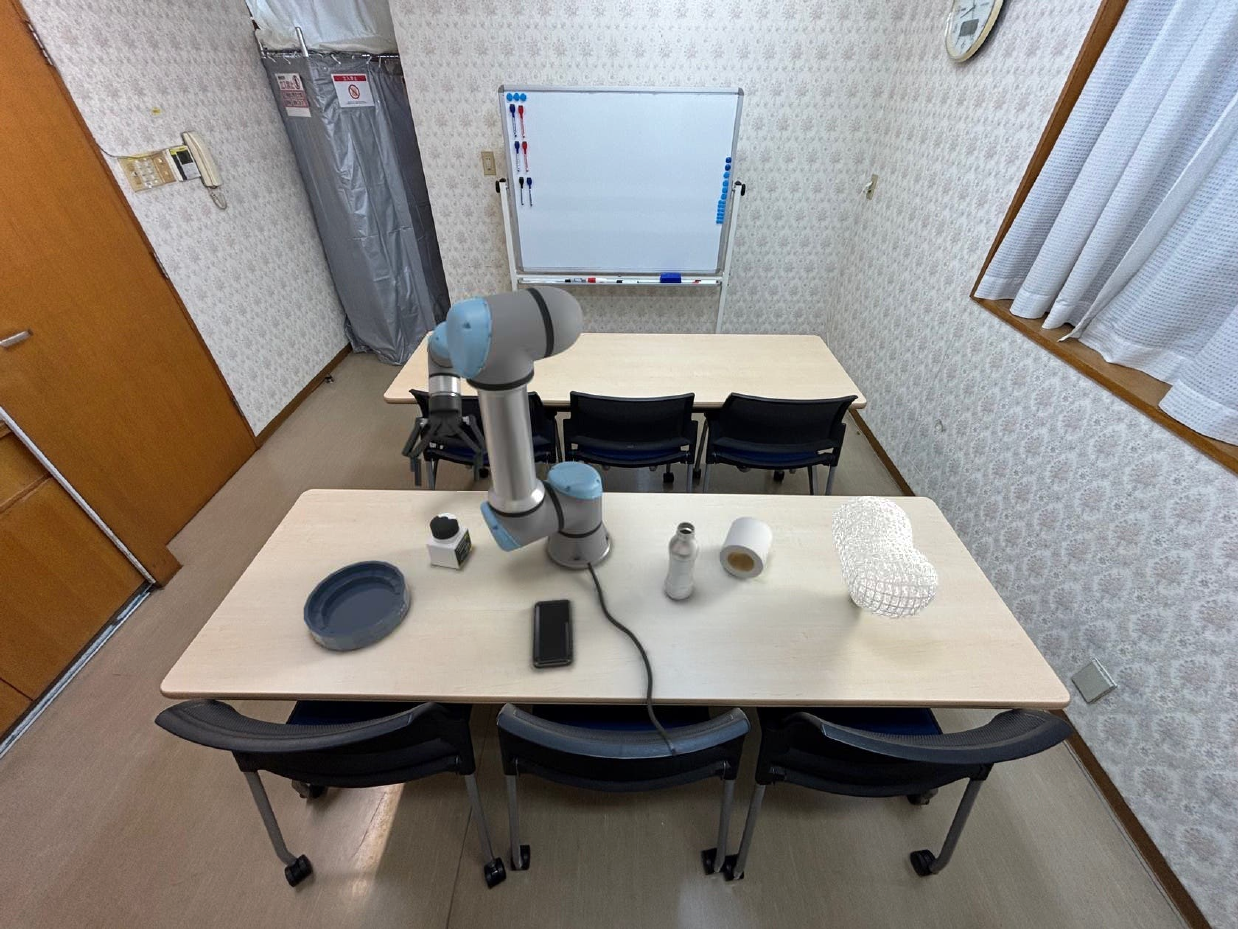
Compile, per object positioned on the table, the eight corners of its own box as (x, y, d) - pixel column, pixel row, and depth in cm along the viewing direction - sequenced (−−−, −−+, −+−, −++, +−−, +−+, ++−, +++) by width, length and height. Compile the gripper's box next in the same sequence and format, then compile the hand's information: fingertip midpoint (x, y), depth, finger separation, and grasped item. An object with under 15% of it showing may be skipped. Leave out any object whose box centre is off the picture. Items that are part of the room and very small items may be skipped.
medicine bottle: (460, 569, 119) (450, 533, 111) (432, 564, 120) (420, 528, 112) (473, 547, 124) (464, 511, 117) (446, 543, 125) (435, 507, 118)
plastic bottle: (696, 585, 116) (706, 522, 103) (686, 608, 111) (696, 544, 99) (669, 576, 118) (676, 513, 106) (659, 597, 113) (665, 534, 101)
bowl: (426, 611, 109) (421, 597, 106) (333, 670, 98) (324, 656, 95) (386, 561, 120) (380, 547, 117) (298, 609, 109) (289, 595, 106)
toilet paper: (728, 541, 127) (734, 511, 121) (768, 554, 123) (776, 524, 117) (716, 569, 120) (722, 539, 113) (758, 583, 116) (767, 554, 110)
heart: (917, 660, 101) (964, 589, 88) (837, 653, 102) (872, 582, 89) (874, 555, 123) (907, 485, 110) (809, 550, 125) (834, 481, 111)
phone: (532, 665, 98) (534, 601, 110) (533, 668, 99) (535, 604, 111) (573, 661, 99) (571, 598, 111) (573, 664, 100) (571, 602, 112)
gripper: (499, 399, 129) (502, 482, 126) (397, 403, 126) (399, 488, 124) (494, 391, 121) (498, 479, 119) (386, 395, 119) (387, 486, 116)
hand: (447, 484), depth 121 cm, fingers open, 13 cm apart
